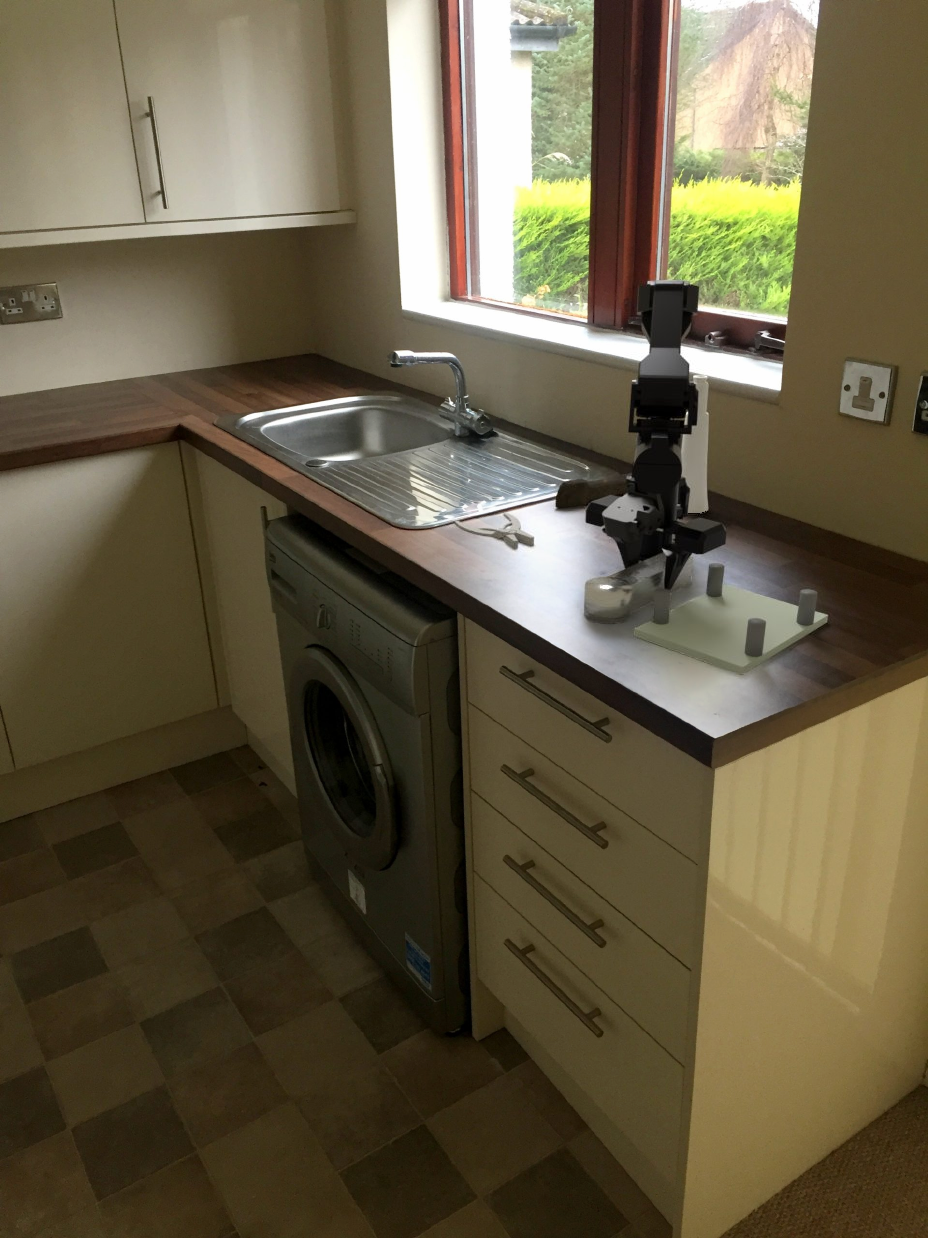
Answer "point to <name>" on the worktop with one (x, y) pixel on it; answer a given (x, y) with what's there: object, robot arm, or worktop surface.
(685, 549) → the robot arm
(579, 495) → the hand tool
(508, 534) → the pliers
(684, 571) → the round-ended glossy bar
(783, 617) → the peg board
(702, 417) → the cosmetic bottle
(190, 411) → the worktop surface
